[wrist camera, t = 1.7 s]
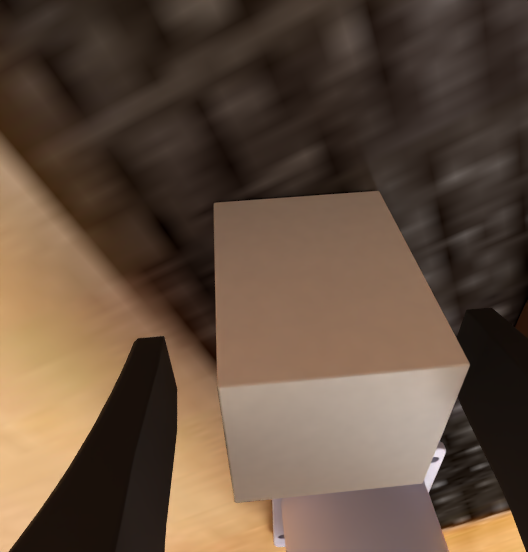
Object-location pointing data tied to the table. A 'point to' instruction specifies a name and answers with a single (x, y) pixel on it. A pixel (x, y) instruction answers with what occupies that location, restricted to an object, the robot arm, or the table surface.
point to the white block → (327, 348)
